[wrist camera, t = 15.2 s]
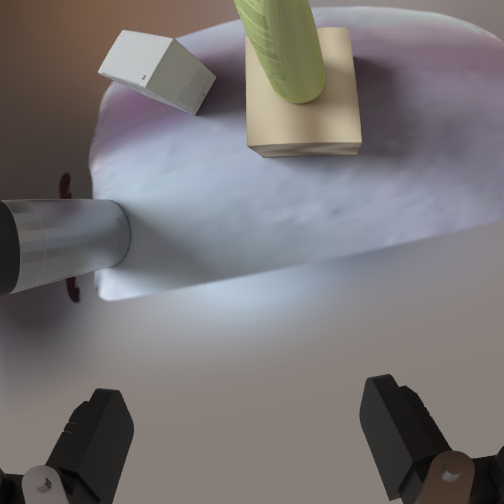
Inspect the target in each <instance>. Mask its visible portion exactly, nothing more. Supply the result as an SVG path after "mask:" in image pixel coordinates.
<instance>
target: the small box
mask: <svg viewBox="0 0 504 504" xmlns="http://www.w3.org/2000/svg"><path fill="white" fill-rule="evenodd" d="M98 73H99V74H101V75H103V76H106V77H108V78H110V79H112V80H114V81H116V82H118V83H120V84H123V85H125V86H127V87H129V88H131V89H133V90H135V91H137V92H139V93H141V94H143V95H145V96H147V97H149V98H152V99H154V100H157V101H160V102H162V103H165V104H167V105H170V106H173V107H175V108H178V109H180V110H183V111H185V112H187V113H190V114H192V115H196V113H197V111H198V110H199V108H200V106H201V104H202V102H203V100H204V99H205V97H206V95H207V93H208V91H209V90H210V88H211V86H212V85H213V83H214V81H215V79H216V78H217V77H216V76H215V75H214V74H213V73H212V72H211V71H210V70H209V69H208V68H207V67H206V66H205V65H203V64H202V63H201V62H200V61H199V60H198V59H197V58H196V57H195V56H194V55H192V54H191V53H190V52H189V51H188V50H187V49H186V48H185V47H183V46H182V45H181V44H180V43H179V42H178V41H177V40H175V39H174V38H169V37H165V36H159V35H154V34H148V33H142V32H135V31H128V30H123V31H122V32H121V33H120V35H119V37H118V38H117V40H116V41H115V43H114V45H113V46H112V48H111V50H110V51H109V53H108V55H107V57H106V58H105V60H104V62H103V63H102V65H101V67H100V69H99V71H98Z"/></svg>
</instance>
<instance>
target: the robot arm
mask: <svg viewBox="0 0 504 504" xmlns="http://www.w3.org/2000/svg"><path fill="white" fill-rule="evenodd" d="M129 242H130V229H129V223H128V220H127V217H126V215H125V213H124V211H123V210H122V209H121V207H120V206H119V205H118V204H116V203H115V202H113V201H111V200H97V199H90V200H89V199H40V200H39V199H37V200H4V201H0V296H4V295H7V294H11V293H15V292H18V291H22V290H25V289H29V288H32V287H36V286H40V285H43V284H47V283H51V282H54V281H58V280H62V279H66V278H70V277H73V276H77V275H81V274H85V273H89V272H93V271H97V270H100V269H104V268H108V267H112V266H115V265H117V264H118V263H119V262H120V261H121V260H122V259H123V258H124V256H125V255H126V253H127V250H128V247H129ZM360 422H361V427H362V429H363V432H364V434H365V437H366V439H367V442H368V445H369V447H370V449H371V452H372V455H373V458H374V460H375V463H376V465H377V468H378V471H379V473H380V476H381V479H382V482H383V484H384V487H385V490H386V492H387V495H388V498H389V501H391V500H395V499H398V498H401V499H402V502H403V504H504V446H503V447H502V448H501V449H500V451H499V452H498V454H497V455H493V456H487V457H481V458H473V459H471V458H470V457H469V456H468V455H466V454H465V453H462V452H459V451H453V450H452V449H451V448H450V446H449V445H448V443H447V441H446V440H445V438H444V436H443V435H442V433H441V431H440V430H439V428H438V426H437V425H436V423H435V422H434V420H433V418H432V417H431V416H430V415H429V412H428V410H427V409H426V407H424V404H423V402H422V401H421V399H420V398H419V396H418V395H417V393H415V392H414V391H412V390H411V389H410V388H408V387H407V386H401V387H399V386H398V385H397V383H396V381H395V380H394V378H393V377H392V376H391V375H390V374H386V375H381V376H376V377H370V378H367V380H366V383H365V388H364V393H363V398H362V402H361V407H360ZM133 435H134V424H133V421H132V418H131V416H130V413H129V411H128V409H127V407H126V404H125V402H124V399H123V397H122V394H121V393H120V391H119V390H112V389H101V388H98V389H96V390H95V391H94V393H93V395H92V397H91V399H90V400H89V402H88V401H84V402H83V403H82V404H81V405H80V406H78V407H77V408H76V409H75V410H74V412H73V413H72V415H71V417H70V419H69V423H67V424H66V426H65V428H64V432H62V434H61V436H60V437H59V439H58V441H57V443H56V445H55V447H54V449H53V451H52V453H51V455H50V457H49V459H48V461H47V462H46V464H45V465H40V466H35V467H33V468H31V469H30V470H28V471H27V472H26V473H25V475H17V474H5V473H4V472H3V471H2V470H1V469H0V504H112V503H113V499H114V495H115V492H116V489H117V486H118V483H119V479H120V476H121V472H122V470H123V466H124V463H125V460H126V457H127V454H128V451H129V448H130V444H131V442H132V438H133Z"/></svg>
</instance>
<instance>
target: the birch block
mask: <svg viewBox="0 0 504 504" xmlns="http://www.w3.org/2000/svg"><path fill="white" fill-rule="evenodd" d="M316 30H317V34H318V38H319V42H320V47H321V52H322V58H323V64H324V70H325V86H324V88H323V91H322V92H321V94H320V95H319V96H317V97H316V98H315V99H313V100H311V101H309V102H306V103H290V102H287V101H285V100H283V99H281V98H280V97H279V96H278V95H277V94H276V93H275V92H274V90H273V89H272V87H271V85H270V83H269V81H268V78H267V76H266V74H265V72H264V70H263V68H262V66H261V64H260V62H259V59H258V57H257V55H256V53H255V51H254V48H253V46H252V44H251V41H250V39H249V37H248V35H245V43H246V123H247V146H248V147H249V148H250V149H252V150H253V151H255V152H256V153H258V154H259V155H260V156H262V157H277V156H305V155H358V152H359V149H360V146H361V143H362V139H361V125H360V114H359V104H358V94H357V86H356V78H355V70H354V63H353V56H352V50H351V43H350V37H349V32H348V28H316Z"/></svg>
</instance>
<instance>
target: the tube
mask: <svg viewBox="0 0 504 504" xmlns="http://www.w3.org/2000/svg"><path fill="white" fill-rule="evenodd" d="M234 2H235V5H236V7H237V10H238V12H239V15H240V17H241V20H242V22H243V25H244V27H245V30H246V32H247V35H248V37H249V39H250V41H251V44H252V46H253V48H254V51H255V53H256V55H257V57H258V59H259V62H260V64H261V66H262V68H263V70H264V72H265V74H266V76H267V78H268V81H269V83H270V85H271V87H272V89H273V90H274V92H275V93H276V94H277V95H278V96H279V97H280V98H281V99H283V100H285V101H287V102H290V103H306V102H309V101H311V100H313V99H315V98H316V97H317V96H319V95H320V94H321V92H322V91H323V88H324V86H325V70H324V64H323V58H322V52H321V47H320V42H319V38H318V34H317V30H316V26H315V22H314V19H313V15H312V12H311V8H310V5H309V2H308V0H234Z"/></svg>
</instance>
